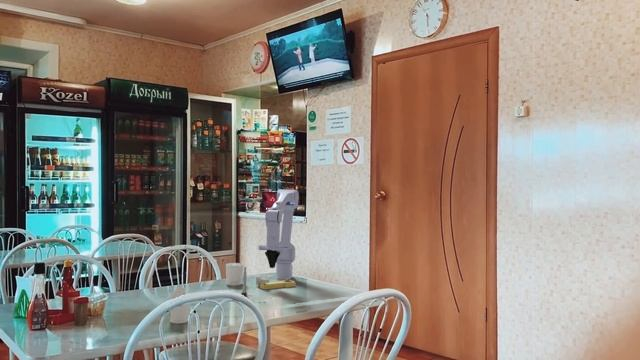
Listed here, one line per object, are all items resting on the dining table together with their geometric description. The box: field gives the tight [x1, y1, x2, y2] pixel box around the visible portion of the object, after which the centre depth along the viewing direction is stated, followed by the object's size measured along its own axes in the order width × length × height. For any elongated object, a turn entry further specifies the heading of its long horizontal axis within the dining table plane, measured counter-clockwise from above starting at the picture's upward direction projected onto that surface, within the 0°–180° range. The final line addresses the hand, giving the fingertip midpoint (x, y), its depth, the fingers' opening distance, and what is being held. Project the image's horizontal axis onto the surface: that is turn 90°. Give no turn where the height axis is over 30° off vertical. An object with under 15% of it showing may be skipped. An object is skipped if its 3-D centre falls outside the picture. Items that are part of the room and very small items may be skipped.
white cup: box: [225, 262, 245, 286], centre depth 237 cm, size 8×8×10 cm
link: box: [259, 279, 297, 290], centre depth 233 cm, size 16×5×2 cm, turn 125°
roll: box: [169, 285, 190, 325], centre depth 179 cm, size 6×12×6 cm
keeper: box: [255, 276, 270, 288], centre depth 230 cm, size 2×8×4 cm, turn 34°
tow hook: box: [240, 266, 253, 297], centre depth 219 cm, size 8×13×9 cm
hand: (272, 267), depth 233 cm, fingers closed
